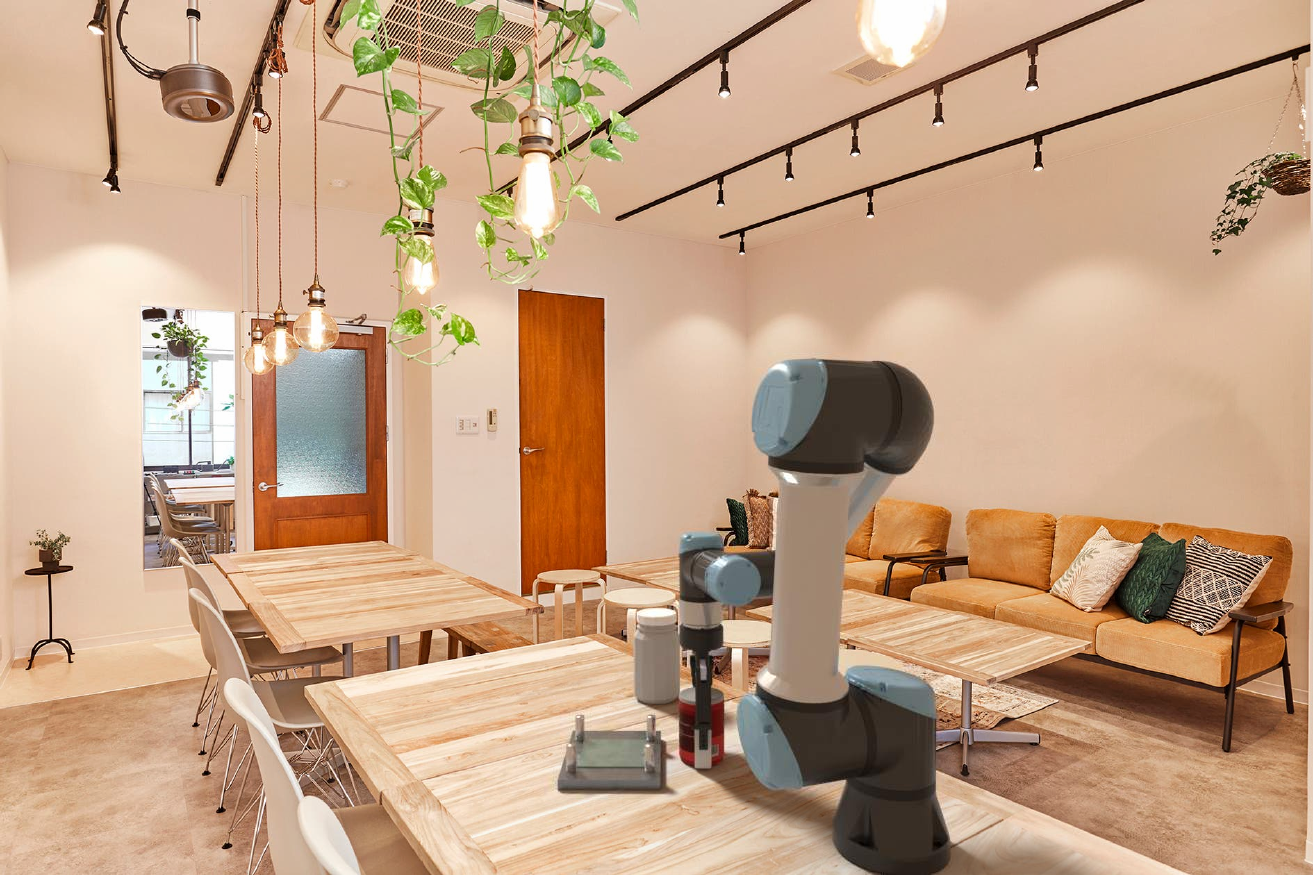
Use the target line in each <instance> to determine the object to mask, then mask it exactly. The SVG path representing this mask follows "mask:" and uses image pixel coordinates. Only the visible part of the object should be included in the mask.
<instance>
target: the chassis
mask: <svg viewBox="0 0 1313 875" xmlns="http://www.w3.org/2000/svg"><path fill="white" fill-rule="evenodd" d="M574 717H575V720H574V721H575V730H572V732H571V736H570V739H569V743H567V744H566V745H565V747H566V748H565V749H566V750H565V754H564V758H563V761H562V763H561V767H560V770H559V773H558V774H559V775H558V777H557V790H559V791H560V790H561V791H562V790H563V791H564V790H565V791H566V790H567V791H573V790H574V791H575V790H576V791H584V790H585V791H586V790H587V791H593V790H595V791H596V790H598V791H616V790H617V791H661V769H662V768H661V767H662V766H661V765H662V764H661V759H662V758H661V756H662V730H657V728H656V727H657V725H656V724H657V716H656V715H655V714H647V715H646V730H585V715H584V714H576V715H575V716H574Z"/></svg>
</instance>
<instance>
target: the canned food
mask: <svg viewBox="0 0 1313 875" xmlns="http://www.w3.org/2000/svg"><path fill="white" fill-rule="evenodd" d="M711 720H712V730H711V767H712V766H715V765H716V766H717V765H718V764H719V763H721V762H722V761H723V759H724V755H725V694H724V691H722V690H720V689H718V688H715V687H711ZM695 724H696V709H695V687H693V686H692V687H687V688H685V689H682V690H680V693H679V695H678V755H679V758H680V760H681V761H682V763H684V764H685V765H689V766H692V767H695V730H691V725H695Z"/></svg>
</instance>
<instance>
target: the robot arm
mask: <svg viewBox="0 0 1313 875" xmlns="http://www.w3.org/2000/svg"><path fill="white" fill-rule="evenodd" d="M750 422H751V431H752V433H753V440H754V441H753V442H754V443H755V446H756V447H757V449H758V451H759V452H761V453H762V454H764V455H766V456H768V458H767V468H768V469H769V470H770V471H771V472H772V473H773V474H774V476H775V477H777V478H776V479H778V480H777V481H778V497H777V499H778V500H777V516H776V517H777V518H776V519H777V520H776V533H775V534H776V536H775V549H774V550H772V549H771V550H758V551H757V550H755V551H739V552H737V551H736V552H728V551H725V546H724V538H723V536H722V535H721V534H720V533H718V532H712V531H710V532H709V531H692V532H686V533H684V534H682V535H681V536H680V538H679V550H678V551H679V552H678V561H679V562H678V567H679V568H678V570H679V573H678V574H679V579H678V580H679V582H678V584H679V586H678V587H679V597H678V620H679V622H680V623H681V624H679V629H678V630H679V633H678V634H679V641H680V648H682V649H685V650H687V651H692V654H690V655H689V668H690V677H691V685H692V687H695V709H696V724H695V725H691V730H695V766H694V769H712V766H711V730H712V720H711V688H712V686H713V684H714V683H713V682H714V681H713V670H714V668H715V667H714V666H715V664H714V662H715V661H714V659H713V658H714V657H713V655H712V654H710V652H712V651H717V650H719V649H721V648H722V647H723V645H724V625H723V624H722V623H723V621H724V610H727V608H728V606H731V607H741V606H745V605H747V604H749V603H751V602H752V601H753V600H757V599H759V600H761V599H770V598H772V607H771V608H772V609H771V627H770V641H769V642H770V643H769V645H770V646H769V661H768V663H766V664H765V665H763V666H762V667H761V668H760V669H759V670H758V672H757V673H756V682H755V683H756V684H755V692H754V693H747V694H746V695H743V696H742V697H741V698H740V700H739V702H738V704H737V709H736V724H737V733H738V736H739V741H740V745H741V748H742V750H743V753H744V757H745V759H746V761H747V764H748V766H749V768H750V769H751V772H752V773H753V775H754V776H755V777H756V779H757V780H758V781H759V782H760V784H762V785H763V786H765V787H766V788H768V789H770V790H773V791H783V790H791V789H794V790H795V791H797V790H801V789H802V788H805V787H806V788H807V787H811V786H817V785H823V784H828V783H829V784H830V783H834V782H840V781H845V784H844V786H843V789H842V792H841V795H840V798H839V801H838V803H837V804H838V805H837V808H836V810H835V813H834V817H833V820H832V843H833V845H834V847H835V849H836V850H837V851H838V853H840V854H841V855H842V856H843V857H844V858H845V859H847V860H848V861H850V862H852V863H853V864H855V865H858V866H859V867H860V868H864V869H865V870H866V869H867V870H869V871H872V872H876V873H878V874H885V875H930V874H931V875H932V874H933V873H937V871H940V870H942V869H943V868H945V867H947V865H948V863H949V861H950V860H951V837H950V832H949V830H948V826H947V823H946V821H945V818H944V814H943V812H942V808H941V804H940V801H939V798H938V796H937V720H938V716H939V715H938V714H937V707H936V706H937V704H936V694H935V691H934V688H933V686H932V685H931V684H930V683H929V682H927V681H926V680H925V679H923V678H921V677H919V676H917V675H915V674H911V673H909V672H906V671H902V670H899V669H895V668H890V667H884V666H877V665H866V664H865V665H863V664H862V665H860V664H859V665H858V664H857V665H852V666H850V667H848V668H847V669H846V670H845V674H844V675H843V674H842V673H841V671H840V670H839V660H840V659H839V658H840V642H841V639H840V638H841V626H842V614H843V599H844V598H843V595H844V582H845V567H846V566H845V565H846V554H847V553H846V549H847V544H848V542H849V540H851V538H852V537H853V536H854V534H855V533H856V531H858V529H859V528H860V526H861V524H863V522H864V521H865V519H867V517H868V515H869V514H870V512H872V510H873V509H874V507H875V506H876V505H877V504H878V502H879V501H880V499H881V498H882V497H883V496H884V494H885V493H886V491H887V490H888V488H889V487H890V486H891V484H892V483H893V482H894V480H895V479H896V478H897V477H899V476H903V475H906V474H908V473H909V472H911V471H912V470H913V468H914V467H915V465H916V464H918V461H920V459H921V457H922V456H923V455H924V453H925V451H926V449H927V447H928V445H929V443H930V441H931V438H932V433H933V431H934V430H933V429H934V424H935V410H934V405H933V401H932V396H931V394H930V393H929V391H928V389H927V387H926V385H925V384H924V383H923V382H922V380H921V379H920V378H919V377H918V376H917V374H915V373H914V372H912V371H911V370H910V369H908V368H907V367H905V366H902V365H900V364H898V363H895V362H892V361H886V360H872V361H870V360H849V359H828V358H827V359H826V358H825V359H824V358H816V357H811V358H795V359H785V360H782V361H780V362H778V363H776V364H774V365H773V366H772V367H771V368H770V369H769V370H768V371H767V372H766V374H765V376H764V377H763V378H762V380H761V381H760V383H759V385H758V387H757V390H756V392H755V396H754V401H753V404H752V408H751V421H750Z"/></svg>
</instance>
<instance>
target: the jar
mask: <svg viewBox="0 0 1313 875" xmlns="http://www.w3.org/2000/svg"><path fill="white" fill-rule="evenodd" d="M636 622H637V623H638V624H637V625H636V630H635V632H634V633H633V694H634V696H635V698H636V699H637V700H638V701H639V702H641V703H643V704H649V705H666V704H669V703H673V702H674V701H675V700H676V699H677V698H679V693H680V692H681V661H680V660H681V646H680V641H679V633H678V631H677V630H676V629H677V627H678V626H677V624H676V623H677V612H676V610H673V609H670V608H664V607H649V608H643V609H640V610H638V611H636Z"/></svg>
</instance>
